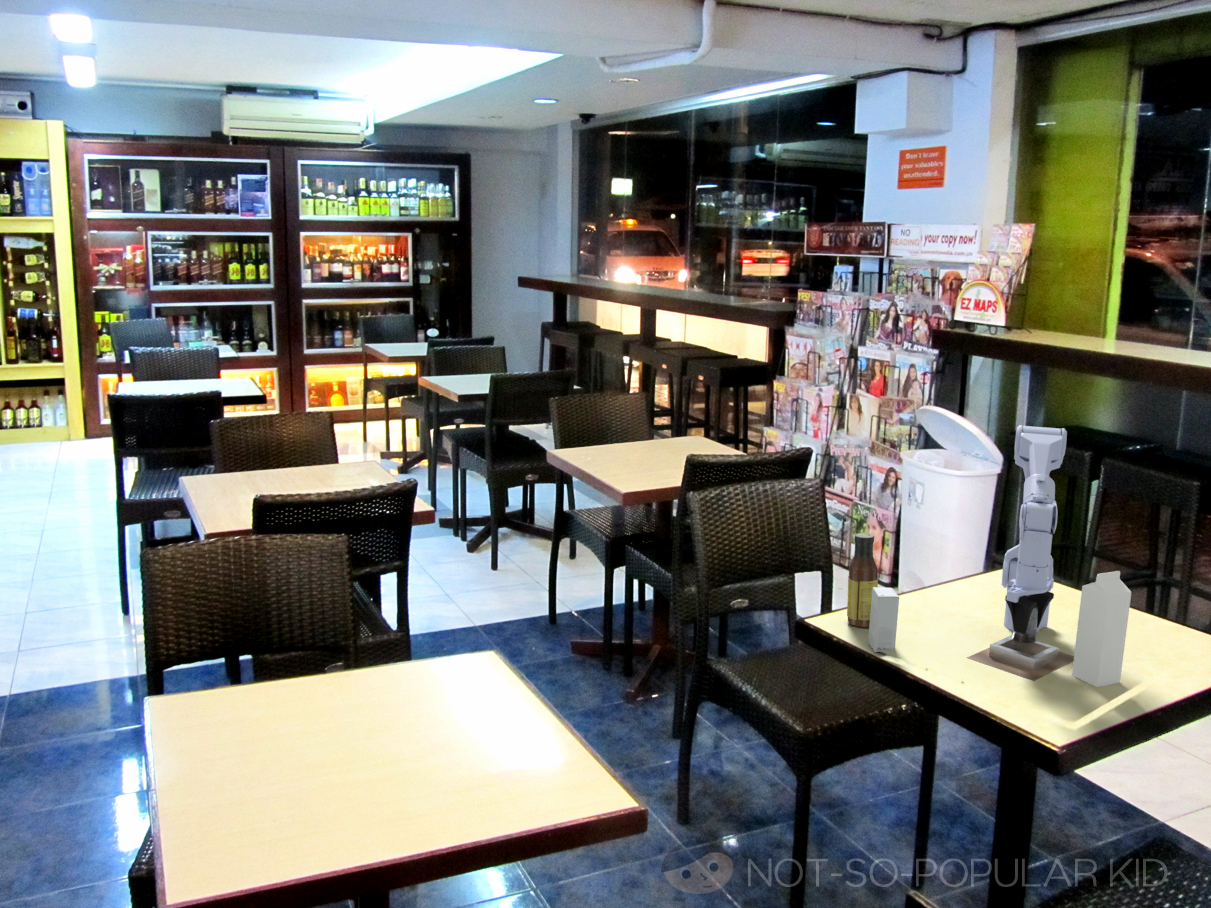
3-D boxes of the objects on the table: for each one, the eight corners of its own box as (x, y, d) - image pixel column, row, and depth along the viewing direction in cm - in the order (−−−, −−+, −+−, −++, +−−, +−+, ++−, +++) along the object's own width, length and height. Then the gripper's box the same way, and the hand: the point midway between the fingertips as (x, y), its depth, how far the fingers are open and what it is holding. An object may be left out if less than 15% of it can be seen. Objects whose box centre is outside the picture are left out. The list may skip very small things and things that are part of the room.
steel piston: (1018, 634, 212) (1019, 600, 211) (1040, 639, 208) (1042, 605, 207) (1007, 639, 209) (1009, 605, 207) (1029, 644, 205) (1031, 610, 204)
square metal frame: (1013, 645, 216) (1014, 634, 215) (1057, 659, 209) (1059, 648, 208) (988, 656, 210) (989, 644, 209) (1033, 671, 203) (1035, 659, 202)
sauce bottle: (879, 622, 230) (886, 534, 226) (870, 631, 224) (877, 541, 220) (850, 616, 233) (857, 529, 229) (840, 624, 228) (846, 535, 224)
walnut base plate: (1013, 641, 220) (1013, 636, 220) (1078, 662, 210) (1079, 657, 210) (966, 662, 209) (966, 657, 209) (1033, 685, 198) (1033, 680, 198)
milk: (1119, 687, 199) (1135, 575, 194) (1095, 692, 196) (1111, 579, 192) (1093, 675, 204) (1107, 566, 199) (1069, 679, 202) (1084, 569, 197)
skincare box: (895, 653, 212) (899, 597, 210) (874, 653, 213) (878, 596, 210) (888, 642, 218) (892, 587, 216) (867, 641, 219) (871, 586, 216)
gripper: (1032, 551, 213) (1025, 615, 215) (994, 564, 204) (988, 631, 206) (1066, 560, 208) (1059, 625, 210) (1029, 573, 198) (1022, 642, 201)
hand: (1026, 629), depth 208 cm, fingers closed on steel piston, 4 cm apart
